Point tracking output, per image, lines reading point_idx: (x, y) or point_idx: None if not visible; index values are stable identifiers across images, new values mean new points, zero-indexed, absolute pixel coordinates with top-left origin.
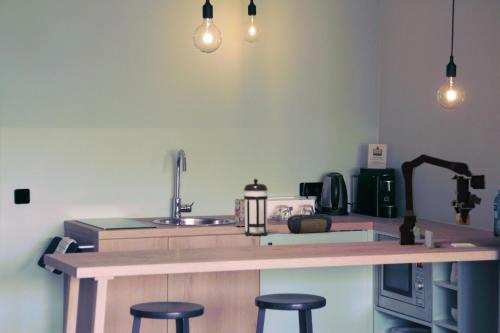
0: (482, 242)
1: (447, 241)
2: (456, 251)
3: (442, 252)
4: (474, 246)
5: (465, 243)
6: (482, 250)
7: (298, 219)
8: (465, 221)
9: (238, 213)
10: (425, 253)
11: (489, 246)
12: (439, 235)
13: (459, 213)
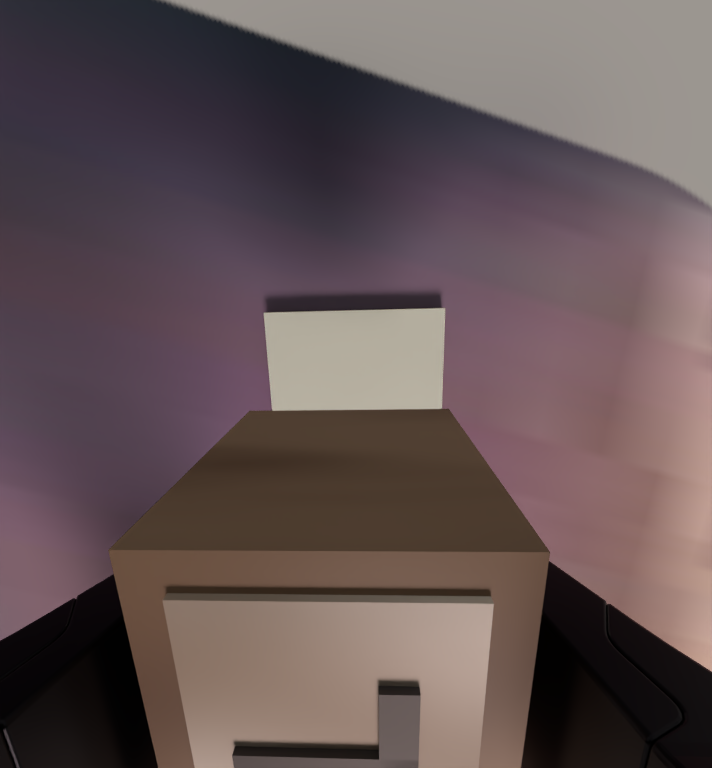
0: (44, 118)
1: (18, 432)
2: (658, 523)
3: (684, 621)
4: (442, 319)
5: (273, 356)
6: (652, 307)
7: None
8: None
9: None
10: None
11: (375, 144)
12: None
13: (126, 761)
